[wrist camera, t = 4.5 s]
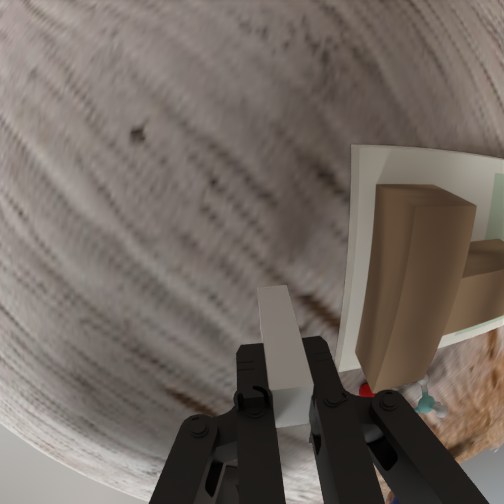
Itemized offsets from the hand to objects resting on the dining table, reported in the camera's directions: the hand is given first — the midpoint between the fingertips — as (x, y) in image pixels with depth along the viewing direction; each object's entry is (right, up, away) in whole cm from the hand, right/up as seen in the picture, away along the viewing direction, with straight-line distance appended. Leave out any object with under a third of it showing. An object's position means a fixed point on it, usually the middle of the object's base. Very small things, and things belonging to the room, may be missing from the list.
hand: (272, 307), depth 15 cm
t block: (+12, +2, +2) cm, 12 cm away
